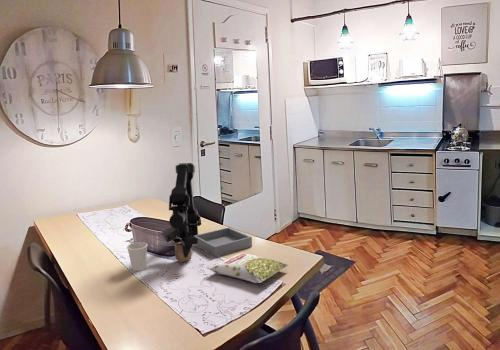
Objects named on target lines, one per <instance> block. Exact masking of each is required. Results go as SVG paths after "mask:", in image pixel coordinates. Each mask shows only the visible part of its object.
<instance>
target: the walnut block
mask: <svg viewBox="0 0 500 350" xmlns="http://www.w3.org/2000/svg"><path fill="white" fill-rule="evenodd" d="M173 243H174V257H175V260H177V261H178V262H180V263H183V262H187V261H190V260H192V251H191V250H192V248H191V249H190V252H189V254H188V256H187V257H186V258H185V257H184V252H183V247H182V246H181V245H180V243H181V242H178V243H175V242H173Z"/></svg>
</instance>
